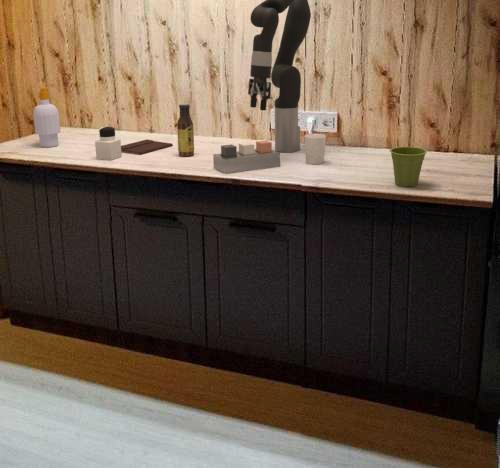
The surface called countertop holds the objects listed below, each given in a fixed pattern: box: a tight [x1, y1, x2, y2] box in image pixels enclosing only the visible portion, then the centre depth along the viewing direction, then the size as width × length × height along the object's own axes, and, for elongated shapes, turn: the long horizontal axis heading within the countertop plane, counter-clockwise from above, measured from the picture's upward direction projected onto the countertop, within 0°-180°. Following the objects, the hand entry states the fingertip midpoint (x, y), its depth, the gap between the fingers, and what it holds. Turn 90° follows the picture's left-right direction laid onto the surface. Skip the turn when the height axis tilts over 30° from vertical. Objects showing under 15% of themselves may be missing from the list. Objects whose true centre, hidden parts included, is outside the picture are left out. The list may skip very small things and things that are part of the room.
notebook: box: [121, 139, 174, 156], centre depth 300 cm, size 15×20×2 cm
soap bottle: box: [32, 86, 61, 148], centre depth 305 cm, size 10×10×24 cm
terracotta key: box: [255, 140, 273, 153], centre depth 267 cm, size 4×4×4 cm
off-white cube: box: [238, 142, 255, 155], centre depth 264 cm, size 4×4×4 cm
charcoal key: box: [220, 144, 238, 157], centre depth 261 cm, size 4×4×4 cm
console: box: [212, 148, 281, 174], centre depth 265 cm, size 22×10×5 cm, turn 116°
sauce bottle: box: [176, 103, 195, 157], centre depth 284 cm, size 7×6×20 cm
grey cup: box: [303, 133, 327, 165], centre depth 269 cm, size 8×8×10 cm
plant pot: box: [389, 146, 428, 187], centre depth 237 cm, size 12×12×11 cm
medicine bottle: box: [94, 126, 123, 161], centre depth 283 cm, size 7×7×12 cm
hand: (258, 108), depth 272 cm, fingers open, 8 cm apart
